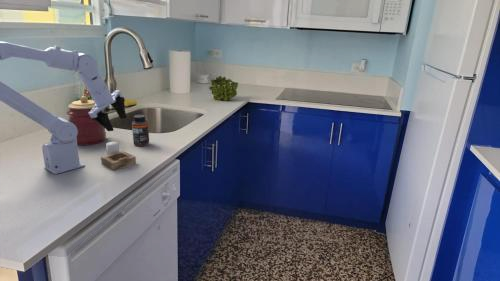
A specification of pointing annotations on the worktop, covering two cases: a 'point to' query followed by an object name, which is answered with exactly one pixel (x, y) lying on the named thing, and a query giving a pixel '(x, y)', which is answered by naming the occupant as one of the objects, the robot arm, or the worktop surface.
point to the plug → (112, 147)
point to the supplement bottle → (140, 131)
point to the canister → (85, 122)
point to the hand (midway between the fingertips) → (117, 124)
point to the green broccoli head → (223, 88)
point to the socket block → (118, 160)
